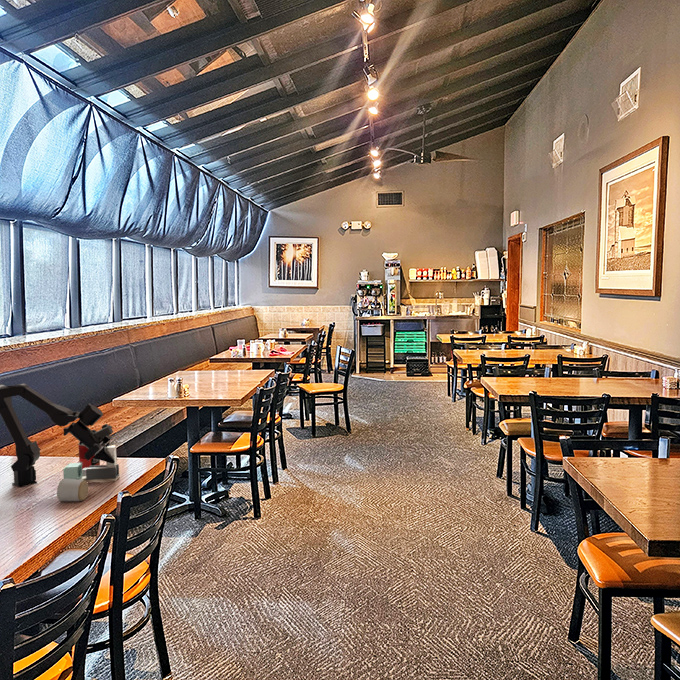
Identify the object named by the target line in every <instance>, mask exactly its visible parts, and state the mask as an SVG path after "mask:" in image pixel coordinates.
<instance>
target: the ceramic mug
mask: <svg viewBox="0 0 680 680" xmlns="http://www.w3.org/2000/svg"><path fill="white" fill-rule="evenodd" d="M88 494H89V483H87V482H86V481H84V480H76V479H66V478H64V477H63V478H62V479H60V481H59V483H58V486H57V490H56V497H57V499H58V501H59V502H83V501H84V500H86V499H87V497H88Z"/></svg>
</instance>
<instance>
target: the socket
mask: <svg viewBox="0 0 680 680" xmlns="http://www.w3.org/2000/svg"><path fill="white" fill-rule="evenodd" d="M62 474H63V479H64V478H66V479H76V480H79V479H80V478H81V477H82V463H79V462H70V463H68V464H67V465H66V466H65V467H64V468H63V473H62Z"/></svg>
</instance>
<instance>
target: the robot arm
mask: <svg viewBox="0 0 680 680" xmlns="http://www.w3.org/2000/svg"><path fill="white" fill-rule="evenodd" d="M16 396H19V397H21V398H23V399H24V400H26V401H27V402H29V403H30V404H32V405H33V406H35V407H36V408H37V409H39V410H41V412H43V413H46V415H47V416H48V417H49V419H50V420H51V421H52V422H53V423H54V424H55V425H56V426H59V427H64V428H63V430H62V431H63V437H64V436H67V435H68V434H70V435H72V436H73V437H74V439H76V440H78V445H79V444H80V445H81V444H83V445H84V446H86V447H87V448H88V450H87V452H86V453H85V454H84V458H85V459H87V460H88V461H89V460H90V459H91V457H92V456H93V455H95V456H94V457H93V459H98V460H100V461H103V462H105V463H106V462H109V463H112V464H113V463H114V462H115V461H114V459H113V458H112V457H111V456H110V455H109V454H108V452H107V451H106V447H107V446H111V440H112V436H111V435H112V434H113V433H114V430H113V426H112V425H111V424H107V423H105V424H103V425H101V429H99V430H95V429H91V428H90V427H93V426H95V424H96V423H97V422H98V421H99V420H100V419H101V418H102V417H103V416H104V413H103V411H102V410H101V409H100V408H99V407H97V406H95V405H92V404H91V403H88V404H86V406H85V407H84V409H83V410H81V412H80V411H73V410H72V409H70V408H68V407H66V406H63V405H60V404H57V403H54V402H53V401H51V400H50V399H48V398H47V397H46V396H43V395H42V394H41V393H39V392H38V391H36V390H35V389H33V388H32V387H30V386H29V385H28V384H27V383H21V384H20V383H19V384H15V385H5V384H0V418H2V420H3V422H4V424H5V426H6V429H7V431H8V432H9V434H10V436H11V439H12V440H13V442H14V445H15V455H16V458H17V459H16V461H15V462H14V463H12V465H10V468H11V470H12V471H13V482H12V484H11V485H13V486H16V487H18V488H23V487H27V486H31V485H34V484H38V481H37V469H35V464H36V462H37V461H39V459H40V457H41V450H42V449H41V448H40V447H39V445H38V442H37V441H36V440H34V441H31V439H29V437H28V436H27V433H26V431H25V429H24V427H23V425H22V424H21V423H22V422H20V419H19V418H18V415H17V413H16V412H15V409H14V407H13V405H12V404H13V402H12V401H13V399H12V398H13V397H16ZM75 421H76V422H75ZM69 424H70V425H69ZM68 425H69V426H68ZM65 426H67V427H65ZM89 426H90V427H89ZM116 460H118V458H117V457H116Z"/></svg>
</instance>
